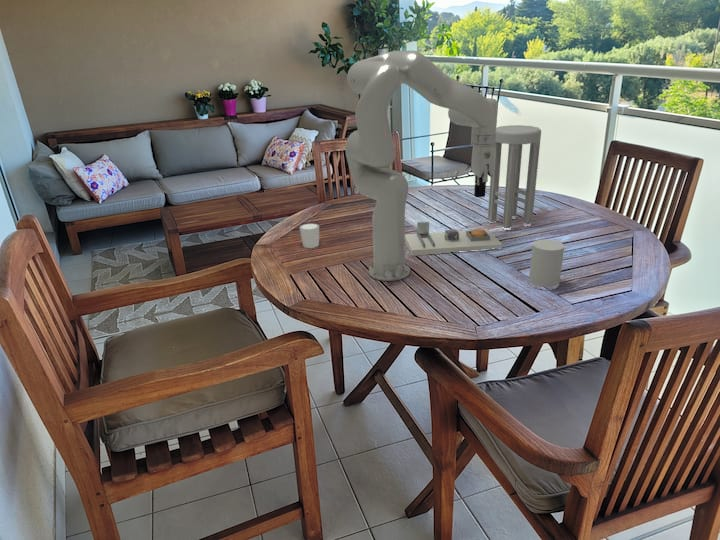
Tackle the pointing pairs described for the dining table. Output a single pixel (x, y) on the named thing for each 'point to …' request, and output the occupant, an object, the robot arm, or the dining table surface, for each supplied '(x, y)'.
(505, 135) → the stool
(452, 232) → the rocker switch
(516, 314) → the dining table surface
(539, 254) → the cup
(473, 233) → the push button
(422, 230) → the grey slider handle
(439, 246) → the switch panel
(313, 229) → the shot glass
